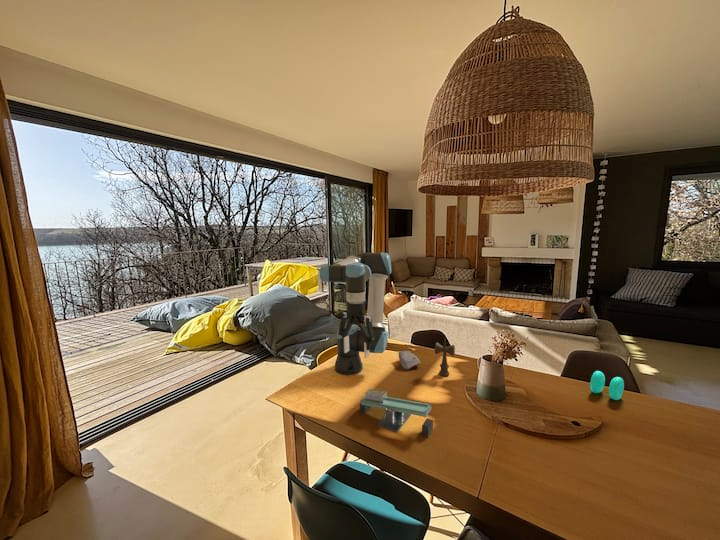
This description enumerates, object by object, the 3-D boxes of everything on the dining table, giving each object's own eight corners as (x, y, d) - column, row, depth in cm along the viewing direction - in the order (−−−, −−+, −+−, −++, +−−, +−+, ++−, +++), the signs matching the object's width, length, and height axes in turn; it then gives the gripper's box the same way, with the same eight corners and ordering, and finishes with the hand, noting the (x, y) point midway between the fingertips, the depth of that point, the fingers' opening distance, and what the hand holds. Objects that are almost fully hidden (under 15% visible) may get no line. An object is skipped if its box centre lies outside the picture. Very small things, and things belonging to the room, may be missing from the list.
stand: (371, 401, 132) (370, 386, 131) (436, 424, 116) (436, 407, 116) (354, 417, 122) (354, 401, 121) (424, 444, 106) (424, 426, 105)
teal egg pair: (616, 404, 127) (619, 382, 126) (588, 394, 135) (590, 373, 134) (623, 396, 133) (626, 375, 132) (596, 387, 141) (598, 367, 140)
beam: (369, 397, 129) (368, 393, 129) (432, 408, 113) (431, 403, 113) (360, 404, 123) (360, 400, 123) (425, 417, 108) (425, 412, 108)
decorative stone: (422, 368, 163) (422, 358, 162) (406, 371, 160) (406, 360, 159) (410, 358, 175) (410, 349, 174) (395, 361, 172) (395, 351, 172)
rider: (370, 397, 126) (369, 389, 126) (387, 400, 122) (386, 391, 122) (366, 401, 123) (365, 393, 123) (383, 404, 119) (382, 395, 119)
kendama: (435, 370, 160) (436, 334, 157) (454, 373, 156) (455, 336, 153) (433, 375, 154) (434, 338, 152) (453, 378, 151) (454, 340, 148)
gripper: (328, 300, 125) (330, 351, 128) (374, 307, 113) (375, 363, 116) (339, 296, 131) (340, 345, 134) (384, 302, 119) (384, 356, 122)
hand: (356, 354), depth 125 cm, fingers open, 9 cm apart
